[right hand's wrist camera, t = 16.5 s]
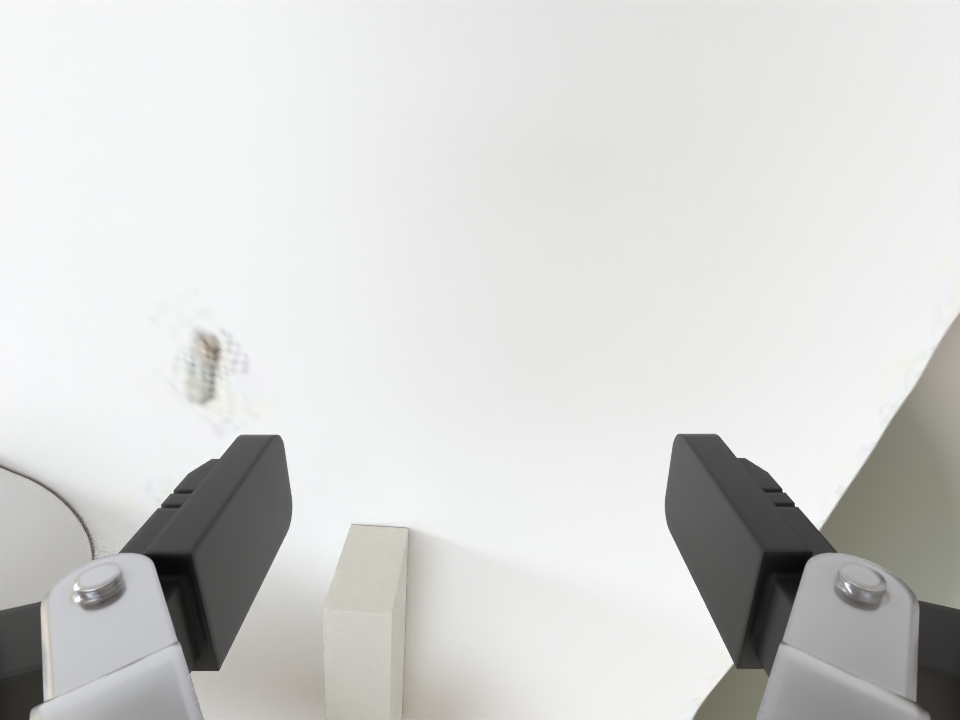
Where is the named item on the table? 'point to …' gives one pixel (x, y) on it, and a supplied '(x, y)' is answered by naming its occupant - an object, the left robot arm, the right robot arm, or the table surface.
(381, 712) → the bar
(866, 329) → the table surface
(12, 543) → the left robot arm
